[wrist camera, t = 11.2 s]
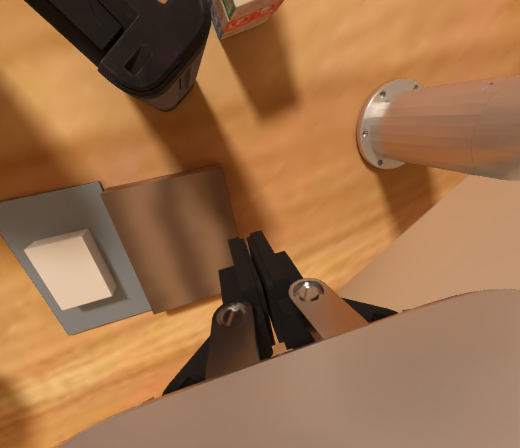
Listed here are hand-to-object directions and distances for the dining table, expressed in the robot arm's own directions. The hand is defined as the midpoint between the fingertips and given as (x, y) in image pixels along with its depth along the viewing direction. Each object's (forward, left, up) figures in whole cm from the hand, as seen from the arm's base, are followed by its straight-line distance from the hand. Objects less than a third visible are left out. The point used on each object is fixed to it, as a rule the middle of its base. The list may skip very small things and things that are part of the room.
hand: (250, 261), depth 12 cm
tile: (+19, +8, -22) cm, 30 cm away
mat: (+19, +8, -24) cm, 31 cm away
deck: (+5, +8, -24) cm, 26 cm away
